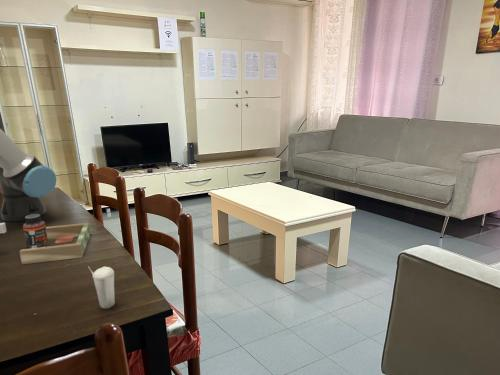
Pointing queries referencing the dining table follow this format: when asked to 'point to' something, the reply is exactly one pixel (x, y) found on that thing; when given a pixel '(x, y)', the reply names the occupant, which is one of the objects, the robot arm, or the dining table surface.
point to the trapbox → (60, 251)
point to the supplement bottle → (35, 232)
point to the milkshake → (104, 286)
